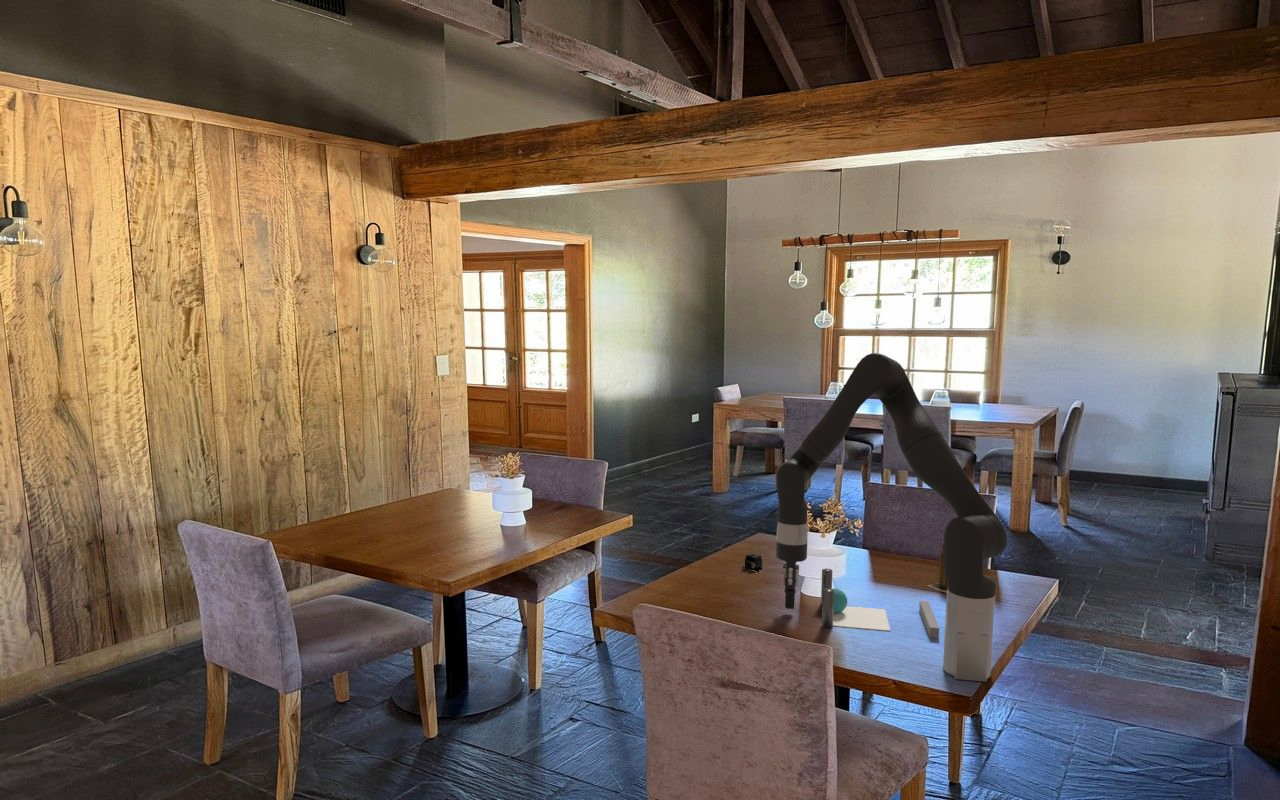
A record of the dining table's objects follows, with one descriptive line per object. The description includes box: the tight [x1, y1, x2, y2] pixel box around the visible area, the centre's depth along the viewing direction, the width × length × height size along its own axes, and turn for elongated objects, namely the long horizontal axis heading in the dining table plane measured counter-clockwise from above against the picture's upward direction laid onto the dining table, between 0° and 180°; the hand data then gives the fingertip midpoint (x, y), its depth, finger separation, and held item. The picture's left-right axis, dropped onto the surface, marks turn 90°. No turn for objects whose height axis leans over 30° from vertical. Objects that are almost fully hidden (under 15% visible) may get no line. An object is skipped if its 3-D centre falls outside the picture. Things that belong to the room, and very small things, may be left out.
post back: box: [820, 568, 833, 606], centre depth 206 cm, size 3×3×9 cm
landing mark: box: [833, 605, 891, 632], centre depth 197 cm, size 14×14×1 cm
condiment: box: [927, 543, 947, 594], centre depth 219 cm, size 7×8×12 cm
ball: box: [832, 588, 848, 613], centre depth 200 cm, size 6×6×6 cm
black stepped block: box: [739, 552, 764, 572], centre depth 235 cm, size 12×7×5 cm, turn 43°
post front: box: [821, 588, 834, 630], centre depth 190 cm, size 3×3×9 cm
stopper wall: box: [918, 600, 940, 640], centre depth 193 cm, size 18×2×2 cm, turn 168°
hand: (789, 607), depth 199 cm, fingers closed
